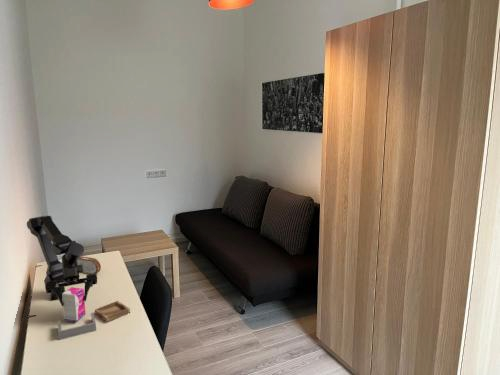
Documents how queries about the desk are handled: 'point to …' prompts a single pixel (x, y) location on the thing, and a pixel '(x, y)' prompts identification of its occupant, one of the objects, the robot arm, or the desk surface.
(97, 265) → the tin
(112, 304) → the tray
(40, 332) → the desk surface
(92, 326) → the stall
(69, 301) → the supplement box
